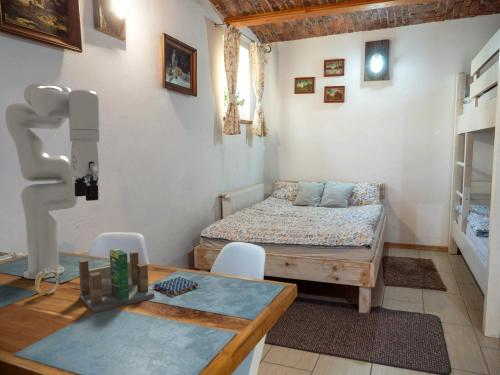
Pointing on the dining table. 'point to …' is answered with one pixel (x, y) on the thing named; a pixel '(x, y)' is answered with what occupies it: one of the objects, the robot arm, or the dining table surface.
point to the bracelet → (43, 276)
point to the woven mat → (175, 286)
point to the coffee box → (119, 274)
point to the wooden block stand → (100, 290)
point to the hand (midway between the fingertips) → (86, 198)
